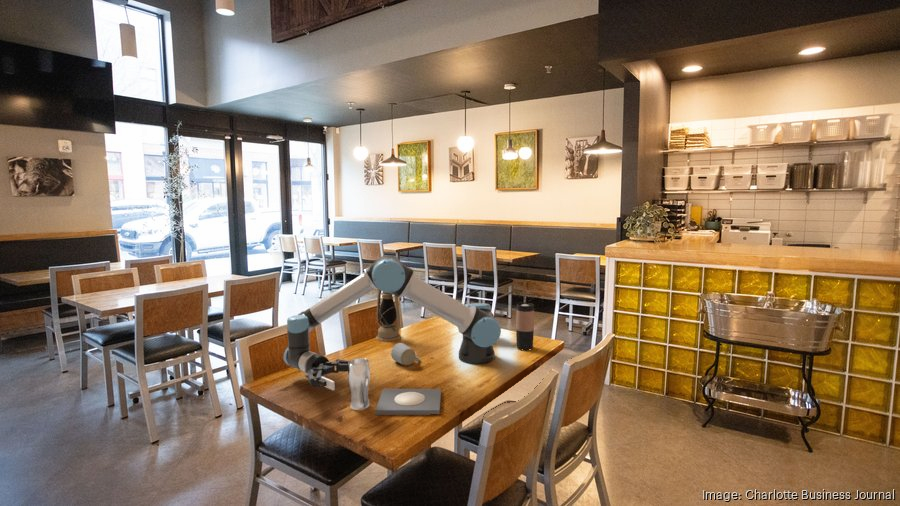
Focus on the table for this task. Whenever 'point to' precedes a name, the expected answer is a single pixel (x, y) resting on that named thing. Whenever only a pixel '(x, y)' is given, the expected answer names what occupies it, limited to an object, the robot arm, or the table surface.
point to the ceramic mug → (403, 354)
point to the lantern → (387, 317)
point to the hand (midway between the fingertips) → (351, 379)
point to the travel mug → (525, 326)
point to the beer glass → (359, 383)
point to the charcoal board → (409, 402)
